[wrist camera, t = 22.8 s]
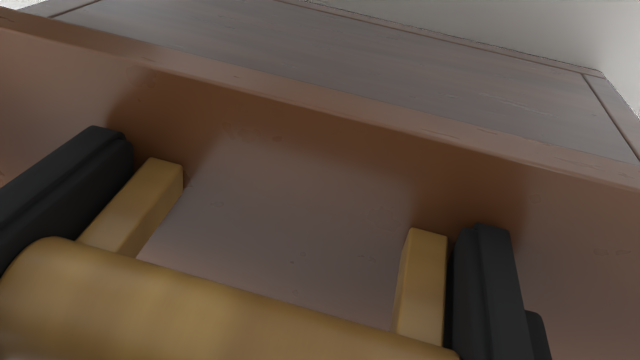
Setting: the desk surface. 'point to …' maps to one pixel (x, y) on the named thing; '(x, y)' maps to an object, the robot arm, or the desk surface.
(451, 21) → the desk surface
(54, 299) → the lid
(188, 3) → the tea box
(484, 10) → the desk surface
